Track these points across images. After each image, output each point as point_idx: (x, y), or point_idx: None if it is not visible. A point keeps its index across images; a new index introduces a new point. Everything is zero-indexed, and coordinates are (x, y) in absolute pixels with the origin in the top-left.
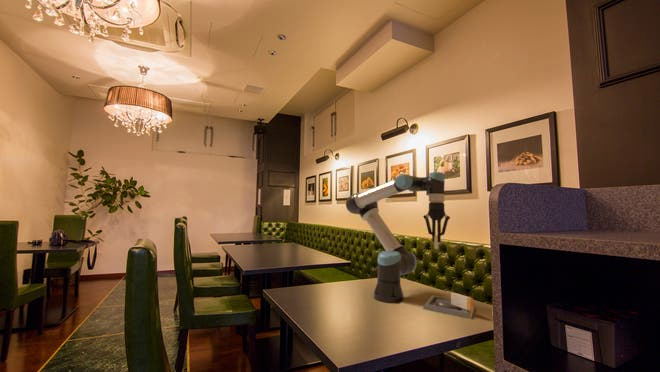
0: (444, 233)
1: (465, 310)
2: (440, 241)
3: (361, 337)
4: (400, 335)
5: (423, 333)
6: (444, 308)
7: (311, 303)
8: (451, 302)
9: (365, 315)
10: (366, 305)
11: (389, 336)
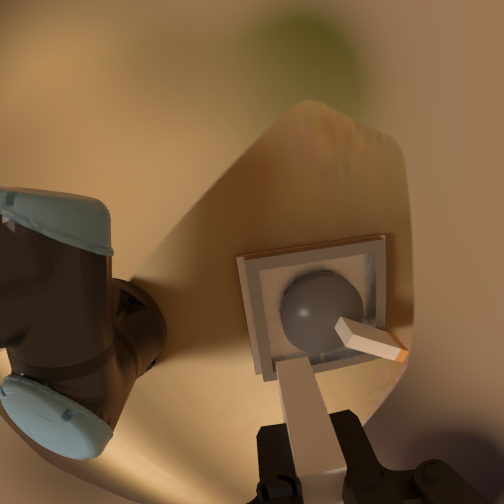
0: (446, 475)
1: None
2: (355, 415)
3: (230, 500)
4: None
5: None
6: (323, 370)
7: None
8: (337, 330)
9: (173, 454)
10: (128, 412)
11: None
